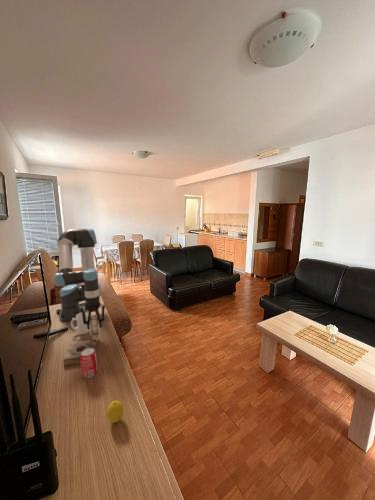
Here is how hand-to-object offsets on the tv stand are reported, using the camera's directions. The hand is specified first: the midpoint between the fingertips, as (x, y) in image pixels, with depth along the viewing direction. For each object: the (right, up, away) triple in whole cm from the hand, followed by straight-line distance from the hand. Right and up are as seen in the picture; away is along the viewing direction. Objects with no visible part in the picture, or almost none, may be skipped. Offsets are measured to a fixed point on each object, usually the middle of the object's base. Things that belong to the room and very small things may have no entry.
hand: (95, 332), depth 126 cm
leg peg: (0, -5, +1) cm, 5 cm away
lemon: (+29, -13, -49) cm, 58 cm away
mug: (-13, -3, +9) cm, 16 cm away
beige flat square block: (-2, -7, -12) cm, 14 cm away
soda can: (+9, -9, -26) cm, 29 cm away
